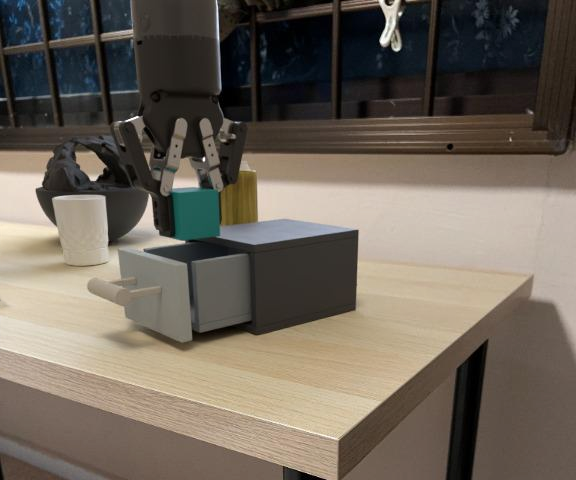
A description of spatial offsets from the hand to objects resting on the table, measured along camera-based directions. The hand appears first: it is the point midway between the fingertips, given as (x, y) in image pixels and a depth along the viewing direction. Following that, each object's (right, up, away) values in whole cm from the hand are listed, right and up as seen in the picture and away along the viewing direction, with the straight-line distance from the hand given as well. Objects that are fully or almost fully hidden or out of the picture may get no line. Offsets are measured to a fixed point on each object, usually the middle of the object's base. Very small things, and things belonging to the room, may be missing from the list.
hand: (189, 232), depth 60 cm
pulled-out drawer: (-1, -9, +3) cm, 9 cm away
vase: (+3, 0, +27) cm, 27 cm away
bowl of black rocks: (-26, +12, +55) cm, 62 cm away
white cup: (-22, +4, +37) cm, 44 cm away
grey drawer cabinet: (+8, -6, +10) cm, 14 cm away
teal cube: (0, 0, 0) cm, 0 cm away
